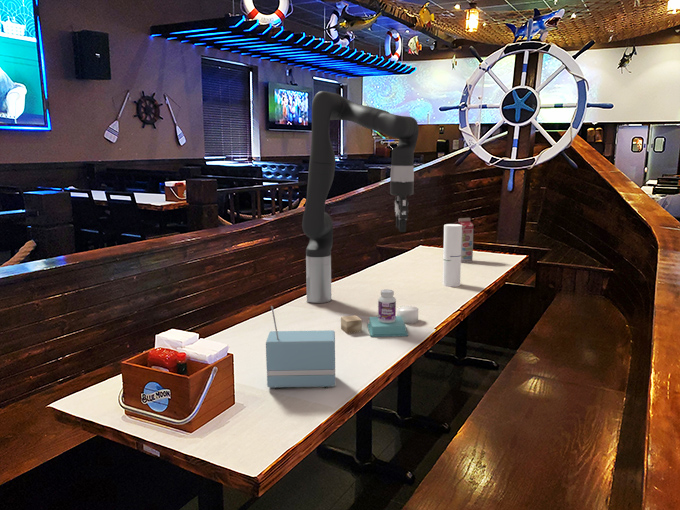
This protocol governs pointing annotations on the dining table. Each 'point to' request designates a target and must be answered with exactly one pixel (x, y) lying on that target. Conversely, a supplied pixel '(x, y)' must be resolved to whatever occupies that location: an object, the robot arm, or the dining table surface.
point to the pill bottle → (387, 307)
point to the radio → (300, 358)
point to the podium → (386, 328)
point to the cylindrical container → (452, 255)
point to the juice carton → (466, 239)
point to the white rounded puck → (408, 314)
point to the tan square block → (351, 324)
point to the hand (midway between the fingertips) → (400, 229)
